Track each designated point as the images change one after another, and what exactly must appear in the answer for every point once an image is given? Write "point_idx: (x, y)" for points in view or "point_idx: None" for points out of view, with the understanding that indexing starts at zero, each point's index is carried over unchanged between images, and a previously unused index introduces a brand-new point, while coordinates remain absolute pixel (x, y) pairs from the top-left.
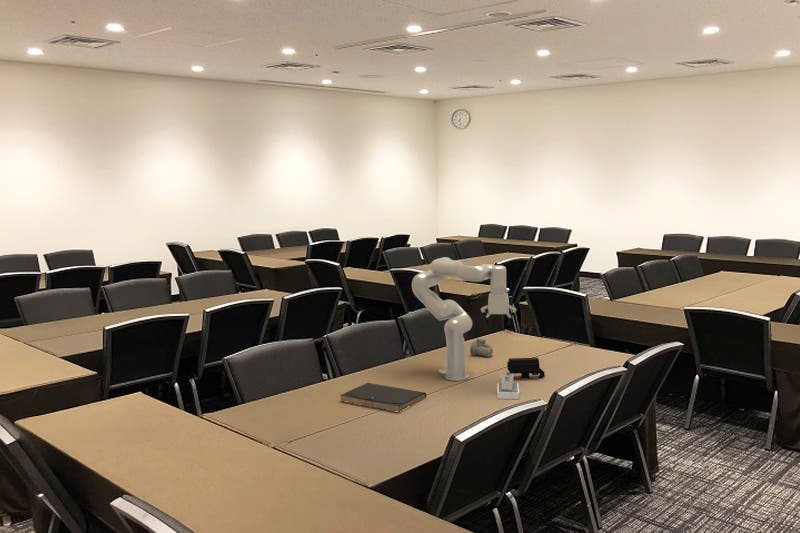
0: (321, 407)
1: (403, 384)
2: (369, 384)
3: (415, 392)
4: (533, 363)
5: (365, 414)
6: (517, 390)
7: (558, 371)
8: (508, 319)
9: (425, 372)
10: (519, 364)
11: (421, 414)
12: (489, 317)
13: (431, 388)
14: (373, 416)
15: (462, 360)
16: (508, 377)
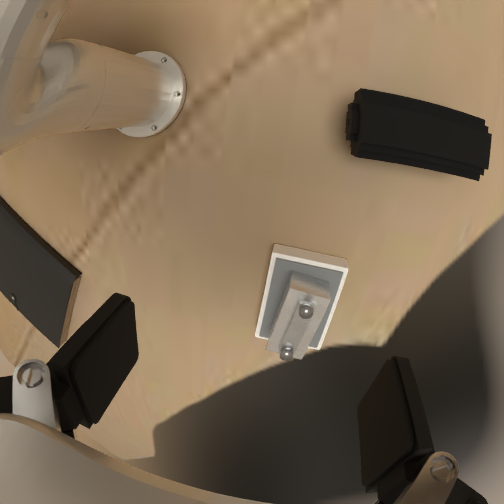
0: None
1: (29, 165)
2: None
3: (56, 281)
4: (459, 173)
5: (30, 327)
6: (319, 339)
7: None
8: (369, 475)
9: None
10: (400, 163)
11: None
12: (79, 368)
13: (81, 204)
14: (41, 338)
15: (123, 116)
16: (291, 357)
